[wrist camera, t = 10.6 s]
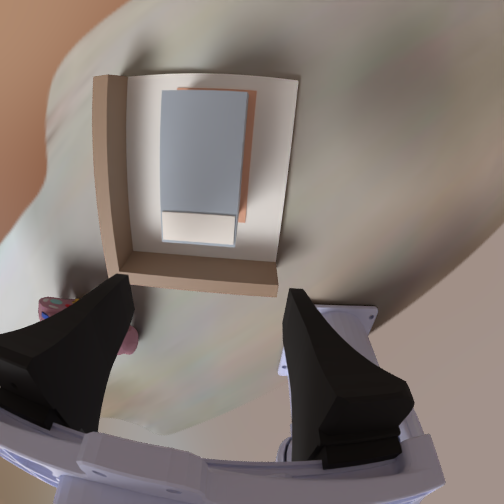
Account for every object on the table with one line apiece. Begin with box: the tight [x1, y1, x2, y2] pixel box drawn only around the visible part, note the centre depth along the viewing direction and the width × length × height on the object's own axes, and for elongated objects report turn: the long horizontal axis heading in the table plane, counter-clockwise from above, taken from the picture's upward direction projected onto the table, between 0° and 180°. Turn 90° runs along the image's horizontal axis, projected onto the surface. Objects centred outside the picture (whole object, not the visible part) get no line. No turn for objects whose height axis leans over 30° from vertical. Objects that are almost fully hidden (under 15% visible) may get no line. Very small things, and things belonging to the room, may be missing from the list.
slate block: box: [160, 90, 249, 247], centre depth 16 cm, size 4×8×5 cm, turn 175°
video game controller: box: [38, 297, 138, 355], centre depth 23 cm, size 10×5×7 cm, turn 74°
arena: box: [92, 73, 298, 297], centre depth 18 cm, size 14×12×4 cm
